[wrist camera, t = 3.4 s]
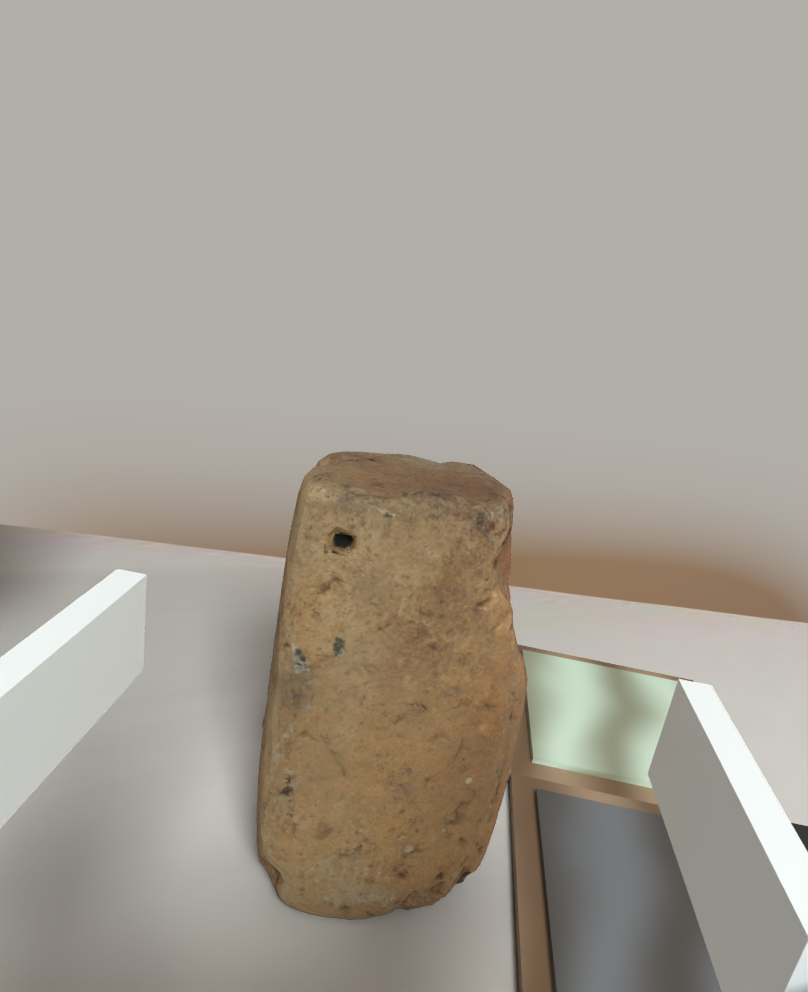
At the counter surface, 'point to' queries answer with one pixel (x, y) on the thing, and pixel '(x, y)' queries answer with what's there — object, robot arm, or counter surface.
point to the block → (389, 685)
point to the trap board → (597, 836)
